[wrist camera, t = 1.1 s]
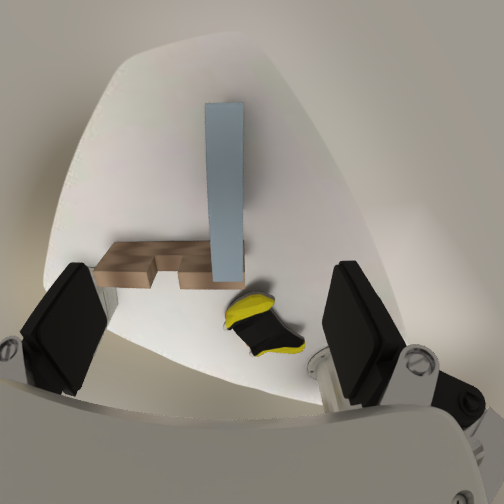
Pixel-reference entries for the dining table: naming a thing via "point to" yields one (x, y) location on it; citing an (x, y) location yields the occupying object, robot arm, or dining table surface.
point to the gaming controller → (261, 326)
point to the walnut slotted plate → (160, 265)
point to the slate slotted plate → (225, 189)
